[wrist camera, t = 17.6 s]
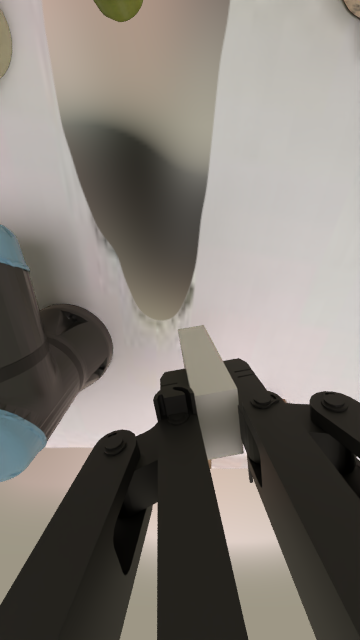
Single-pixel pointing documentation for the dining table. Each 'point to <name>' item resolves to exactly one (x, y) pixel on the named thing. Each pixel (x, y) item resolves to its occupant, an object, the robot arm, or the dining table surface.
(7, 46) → the reusable coffee cup
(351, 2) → the teacup with lid
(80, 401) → the dining table surface
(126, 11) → the plant pot
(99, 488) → the robot arm
